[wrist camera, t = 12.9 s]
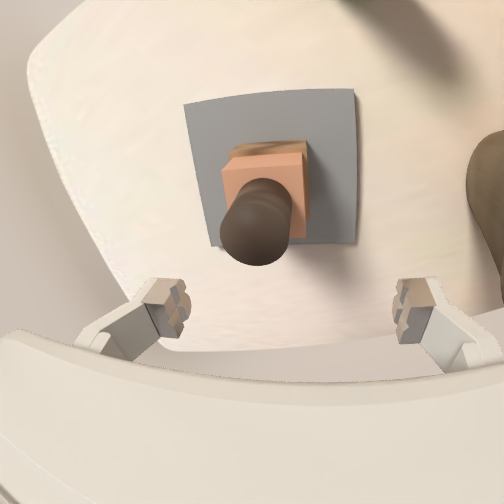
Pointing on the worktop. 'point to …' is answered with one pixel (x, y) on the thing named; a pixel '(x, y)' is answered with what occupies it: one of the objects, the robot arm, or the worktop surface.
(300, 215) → the terracotta top block
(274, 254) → the espresso cylinder
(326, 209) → the slate mat
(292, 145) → the walnut base block
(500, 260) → the plant pot
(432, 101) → the worktop surface
